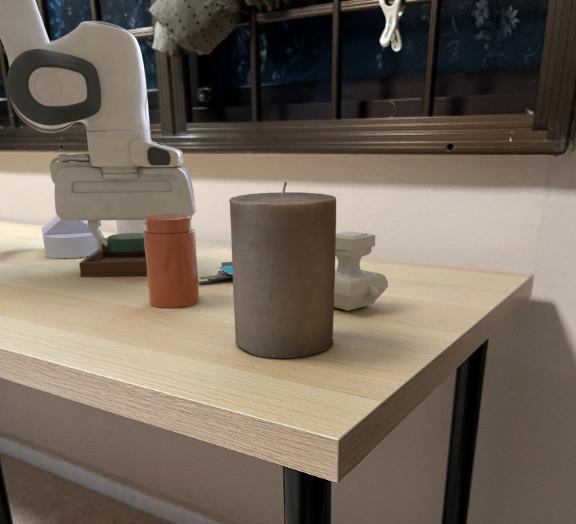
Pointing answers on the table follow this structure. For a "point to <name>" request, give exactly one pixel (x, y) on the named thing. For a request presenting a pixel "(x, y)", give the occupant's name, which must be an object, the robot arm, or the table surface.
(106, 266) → the tray
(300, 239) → the pillar candle
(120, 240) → the jar lid
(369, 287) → the stamp
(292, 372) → the table surface
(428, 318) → the table surface
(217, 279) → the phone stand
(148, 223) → the jar
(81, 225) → the wedge on round base
